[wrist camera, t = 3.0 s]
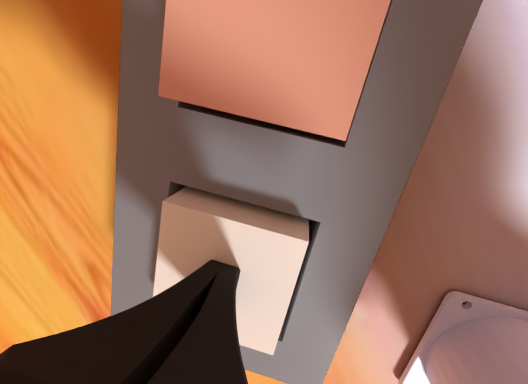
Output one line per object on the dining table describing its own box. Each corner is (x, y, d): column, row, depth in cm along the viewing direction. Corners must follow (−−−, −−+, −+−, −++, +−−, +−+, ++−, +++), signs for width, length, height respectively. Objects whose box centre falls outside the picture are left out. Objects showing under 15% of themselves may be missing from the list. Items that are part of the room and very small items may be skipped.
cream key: (308, 213, 13) (308, 241, 10) (279, 308, 15) (273, 355, 12) (193, 182, 13) (162, 200, 10) (180, 278, 15) (151, 316, 12)
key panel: (469, -79, 10) (560, -186, 7) (316, 332, 18) (318, 393, 14) (189, -124, 12) (130, -239, 8) (150, 281, 19) (110, 324, 15)
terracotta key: (390, -47, 9) (430, -124, 6) (335, 133, 11) (345, 140, 8) (219, -77, 9) (179, -161, 6) (196, 99, 11) (158, 95, 8)
